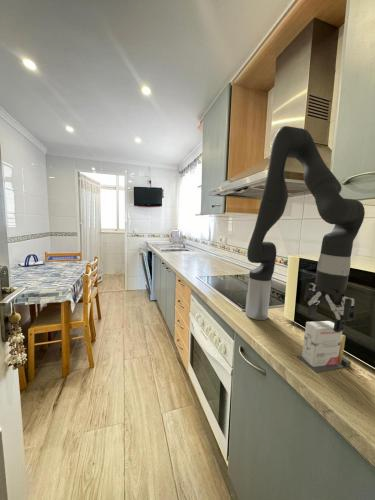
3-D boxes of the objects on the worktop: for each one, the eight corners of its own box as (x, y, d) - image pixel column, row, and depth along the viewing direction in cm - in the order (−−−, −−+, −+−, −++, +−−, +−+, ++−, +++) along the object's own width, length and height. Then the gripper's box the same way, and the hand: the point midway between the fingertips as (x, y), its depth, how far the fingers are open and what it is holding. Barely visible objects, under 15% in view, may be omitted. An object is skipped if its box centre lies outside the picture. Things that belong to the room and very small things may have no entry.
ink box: (325, 355, 66) (330, 319, 65) (338, 365, 62) (344, 327, 60) (300, 356, 65) (305, 320, 63) (312, 367, 60) (318, 328, 59)
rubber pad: (297, 356, 65) (297, 355, 65) (322, 353, 68) (322, 352, 68) (316, 372, 59) (316, 371, 59) (343, 367, 61) (343, 366, 61)
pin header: (322, 353, 68) (326, 327, 67) (328, 352, 69) (332, 326, 67) (343, 367, 61) (348, 338, 60) (350, 366, 62) (354, 338, 61)
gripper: (302, 264, 65) (295, 313, 68) (347, 278, 52) (336, 338, 54) (321, 264, 67) (313, 312, 70) (369, 277, 54) (358, 335, 56)
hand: (323, 323), depth 62 cm, fingers open, 8 cm apart
